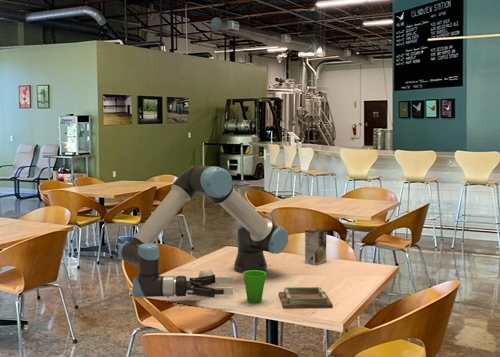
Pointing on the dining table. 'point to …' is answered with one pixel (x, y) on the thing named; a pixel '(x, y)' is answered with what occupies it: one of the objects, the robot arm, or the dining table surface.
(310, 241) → the coffee box
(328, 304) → the jig cradle
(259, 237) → the robot arm
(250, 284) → the cup
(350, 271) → the dining table surface
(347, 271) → the dining table surface
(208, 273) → the elephant figurine
